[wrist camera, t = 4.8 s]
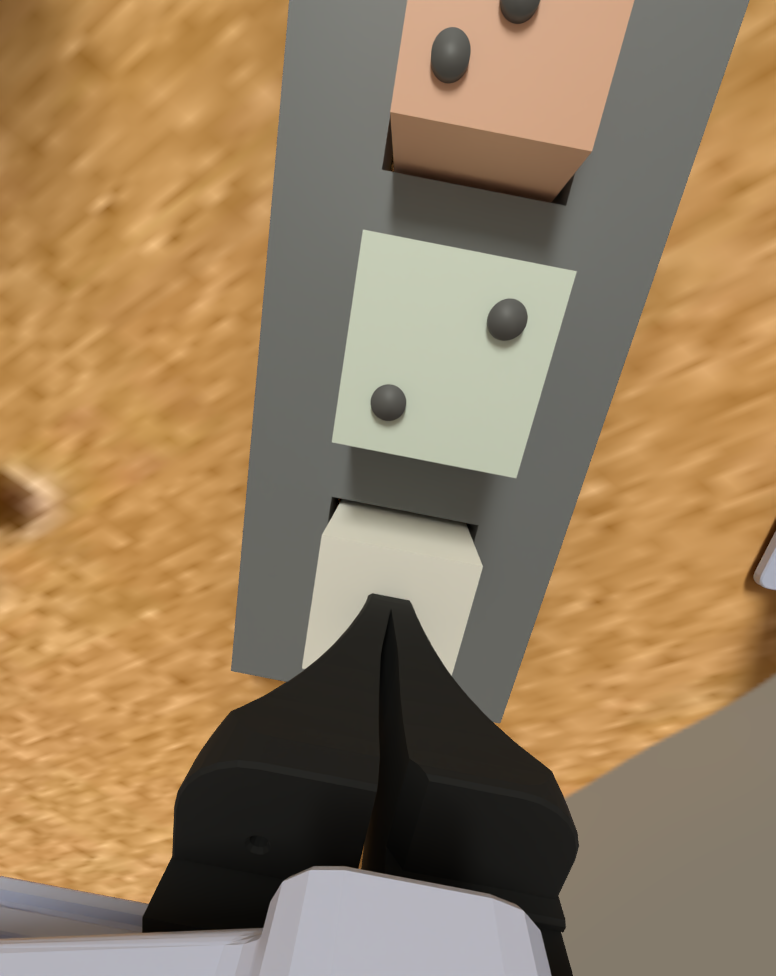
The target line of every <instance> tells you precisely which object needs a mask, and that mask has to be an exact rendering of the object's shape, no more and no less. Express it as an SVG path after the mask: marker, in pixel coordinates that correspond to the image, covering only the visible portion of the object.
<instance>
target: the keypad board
mask: <svg viewBox="0 0 776 976" xmlns="http://www.w3.org/2000/svg"><path fill="white" fill-rule="evenodd" d="M748 3H749V0H634V3H633V7H632V11H631V14H630V18H629V21H628V25H627V28H626V32H625V36H624V39H623V43H622V46H621V50H620V53H619V57H618V61H617V64H616V68H615V71H614V75H613V78H612V82H611V86H610V89H609V93H608V96H607V100H606V103H605V107H604V111H603V114H602V118H601V121H600V125H599V128H598V132H597V136H596V139H595V143H594V146H593V150H592V152H591V153H590V155H589V156H588V157H587V158H586V160H585V161H584V162H583V163H582V165H581V166H580V167H579V168H578V170H577V171H576V172H575V173H574V175H573V176H572V177H571V178H570V180H569V181H568V182H567V183H566V185H565V186H564V187H563V188H562V190H561V191H560V192H559V193H558V195H557V196H556V197H555V198H554V200H553V201H552V202H551V203H549V202H544V201H539V200H534V199H529V198H523V197H518V196H513V195H508V194H503V193H498V192H493V191H488V190H483V189H477V188H472V187H467V186H462V185H457V184H452V183H447V182H442V181H437V180H432V179H426V178H421V177H416V176H411V175H406V174H401V173H396V172H391V171H390V170H391V164H392V157H393V145H392V131H391V116H390V110H391V103H392V97H393V90H394V84H395V77H396V71H397V64H398V58H399V51H400V45H401V38H402V31H403V25H404V18H405V12H406V5H407V0H289V10H288V21H287V33H286V44H285V56H284V67H283V79H282V91H281V102H280V114H279V125H278V137H277V148H276V160H275V171H274V183H273V194H272V206H271V217H270V229H269V240H268V252H267V263H266V275H265V286H264V298H263V309H262V321H261V332H260V344H259V355H258V367H257V378H256V390H255V401H254V413H253V424H252V436H251V447H250V459H249V470H248V482H247V493H246V505H245V517H244V528H243V540H242V551H241V563H240V574H239V586H238V597H237V609H236V620H235V632H234V643H233V655H232V666H231V671H234V672H239V673H245V674H250V675H255V676H260V677H265V678H270V679H275V680H280V681H285V682H287V681H289V680H291V679H292V678H294V677H295V676H296V675H298V674H299V673H301V672H302V671H303V670H305V669H302V664H303V657H304V650H305V644H306V637H307V630H308V624H309V617H310V610H311V604H312V597H313V590H314V584H315V577H316V570H317V564H318V557H319V550H320V544H321V537H322V534H323V532H324V530H325V528H326V527H327V525H328V523H329V521H330V520H331V518H332V516H333V514H334V512H335V511H336V509H337V504H338V498H341V499H347V500H352V501H357V502H362V503H367V504H372V505H377V506H382V507H388V508H393V509H398V510H403V511H408V512H413V513H418V514H423V515H428V516H434V517H439V518H444V519H449V520H454V521H459V522H464V523H466V525H467V528H468V530H469V533H470V535H471V538H472V540H473V543H474V545H475V548H476V550H477V553H478V555H479V558H480V560H481V563H482V565H483V568H482V572H481V575H480V579H479V582H478V586H477V589H476V593H475V596H474V600H473V603H472V607H471V610H470V614H469V617H468V621H467V624H466V628H465V631H464V635H463V638H462V642H461V645H460V649H459V652H458V656H457V659H456V663H455V666H454V670H453V673H452V677H453V678H454V680H455V681H456V682H457V683H458V685H459V686H460V687H461V688H462V690H463V691H464V692H465V693H466V694H467V696H468V697H469V698H470V699H471V700H472V701H473V702H474V703H475V704H476V705H477V706H478V707H479V709H480V710H481V711H482V712H483V713H484V714H485V715H486V716H487V717H488V718H489V719H490V720H491V721H492V722H495V723H500V722H501V719H502V717H503V714H504V711H505V708H506V705H507V702H508V699H509V696H510V693H511V690H512V688H513V685H514V682H515V679H516V676H517V673H518V670H519V667H520V664H521V661H522V659H523V656H524V653H525V650H526V647H527V644H528V641H529V638H530V635H531V632H532V630H533V627H534V624H535V621H536V618H537V615H538V612H539V609H540V606H541V603H542V601H543V598H544V595H545V592H546V589H547V586H548V583H549V580H550V577H551V574H552V572H553V569H554V566H555V563H556V560H557V557H558V554H559V551H560V548H561V545H562V543H563V540H564V537H565V534H566V531H567V528H568V525H569V522H570V519H571V516H572V514H573V511H574V508H575V505H576V502H577V499H578V496H579V493H580V490H581V487H582V484H583V482H584V479H585V476H586V473H587V470H588V467H589V464H590V461H591V458H592V455H593V453H594V450H595V447H596V444H597V441H598V438H599V435H600V432H601V429H602V426H603V424H604V421H605V418H606V415H607V412H608V409H609V406H610V403H611V400H612V397H613V395H614V392H615V389H616V386H617V383H618V380H619V377H620V374H621V371H622V368H623V366H624V363H625V360H626V357H627V354H628V351H629V348H630V345H631V342H632V339H633V337H634V334H635V331H636V328H637V325H638V322H639V319H640V316H641V313H642V310H643V308H644V305H645V302H646V299H647V296H648V293H649V290H650V287H651V284H652V281H653V279H654V276H655V273H656V270H657V267H658V264H659V261H660V258H661V255H662V252H663V250H664V247H665V244H666V241H667V238H668V235H669V232H670V229H671V226H672V223H673V221H674V218H675V215H676V212H677V209H678V206H679V203H680V200H681V197H682V194H683V192H684V189H685V186H686V183H687V180H688V177H689V174H690V171H691V168H692V165H693V163H694V160H695V157H696V154H697V151H698V148H699V145H700V142H701V139H702V136H703V134H704V131H705V128H706V125H707V122H708V119H709V116H710V113H711V110H712V107H713V105H714V102H715V99H716V96H717V93H718V90H719V87H720V84H721V81H722V78H723V76H724V73H725V70H726V67H727V64H728V61H729V58H730V55H731V52H732V49H733V47H734V44H735V41H736V38H737V35H738V32H739V29H740V26H741V23H742V20H743V17H744V15H745V12H746V9H747V6H748ZM363 230H368V231H373V232H378V233H383V234H389V235H394V236H399V237H404V238H409V239H414V240H419V241H424V242H429V243H435V244H440V245H445V246H450V247H455V248H460V249H465V250H470V251H475V252H481V253H486V254H491V255H496V256H501V257H506V258H511V259H516V260H521V261H527V262H532V263H537V264H542V265H547V266H552V267H557V268H562V269H567V270H573V271H577V272H576V276H575V279H574V283H573V286H572V290H571V293H570V296H569V300H568V303H567V307H566V310H565V313H564V317H563V320H562V324H561V327H560V331H559V334H558V337H557V341H556V344H555V348H554V351H553V355H552V358H551V361H550V365H549V368H548V372H547V375H546V378H545V382H544V385H543V389H542V392H541V396H540V399H539V402H538V406H537V409H536V413H535V416H534V419H533V423H532V426H531V430H530V433H529V437H528V440H527V443H526V447H525V450H524V454H523V457H522V461H521V464H520V467H519V471H518V474H517V478H512V477H507V476H502V475H497V474H491V473H486V472H481V471H476V470H471V469H466V468H461V467H456V466H451V465H445V464H440V463H435V462H430V461H425V460H420V459H415V458H410V457H405V456H399V455H394V454H389V453H384V452H379V451H374V450H369V449H364V448H358V447H353V446H348V445H343V444H338V443H333V442H332V437H333V430H334V423H335V416H336V409H337V403H338V396H339V389H340V382H341V375H342V369H343V362H344V355H345V348H346V341H347V335H348V328H349V321H350V314H351V307H352V301H353V294H354V287H355V280H356V273H357V267H358V260H359V253H360V246H361V239H362V233H363Z"/></svg>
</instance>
